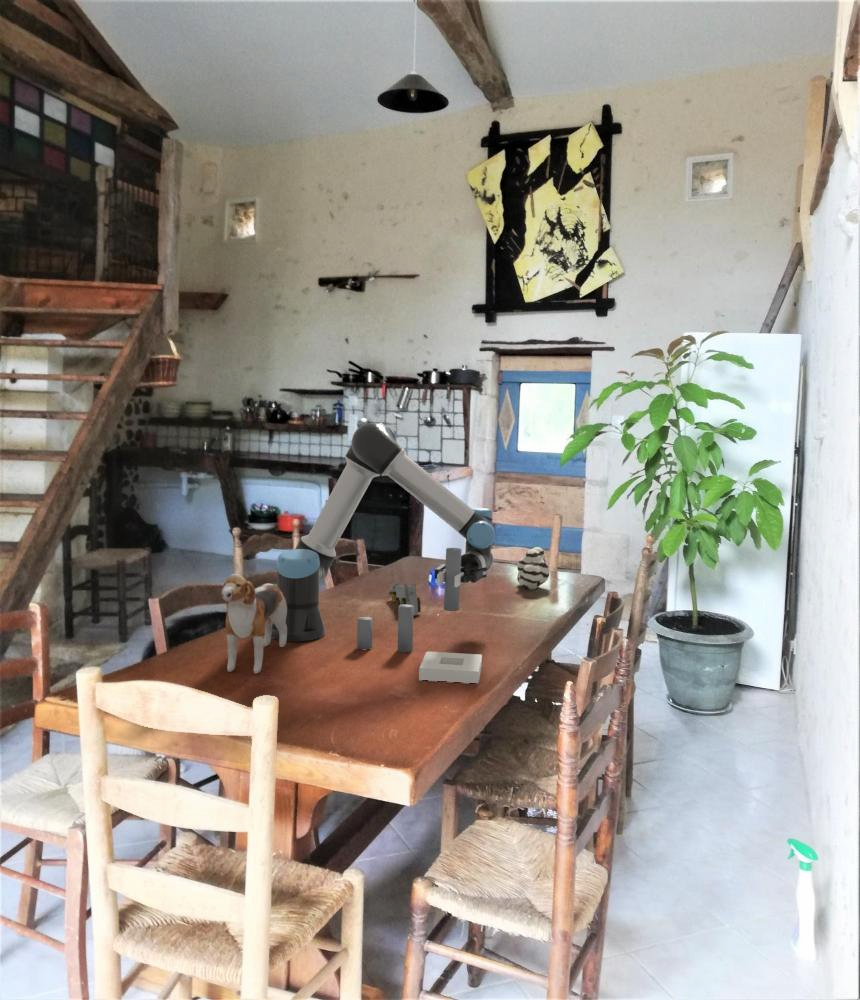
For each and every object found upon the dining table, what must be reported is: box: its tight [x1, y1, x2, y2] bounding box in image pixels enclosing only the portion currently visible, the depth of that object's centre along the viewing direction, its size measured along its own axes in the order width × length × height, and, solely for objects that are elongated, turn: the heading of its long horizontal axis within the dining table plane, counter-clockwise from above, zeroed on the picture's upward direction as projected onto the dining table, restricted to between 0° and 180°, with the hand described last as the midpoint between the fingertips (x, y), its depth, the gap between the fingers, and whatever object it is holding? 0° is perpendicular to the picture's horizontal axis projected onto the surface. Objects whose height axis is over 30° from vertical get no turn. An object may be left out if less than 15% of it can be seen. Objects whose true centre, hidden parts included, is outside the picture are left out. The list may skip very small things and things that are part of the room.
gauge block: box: [418, 650, 483, 685], centre depth 196 cm, size 14×14×3 cm
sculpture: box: [516, 546, 550, 590], centre depth 299 cm, size 22×12×15 cm, turn 166°
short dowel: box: [356, 616, 373, 650], centre depth 215 cm, size 4×4×8 cm
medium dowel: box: [397, 604, 414, 653], centre depth 214 cm, size 4×4×12 cm
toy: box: [388, 582, 422, 616], centre depth 264 cm, size 6×24×10 cm, turn 15°
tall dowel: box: [443, 547, 463, 612], centre depth 211 cm, size 4×4×16 cm
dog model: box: [220, 573, 288, 675], centre depth 200 cm, size 10×41×25 cm, turn 172°
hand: (447, 580), depth 206 cm, fingers closed on tall dowel, 4 cm apart
